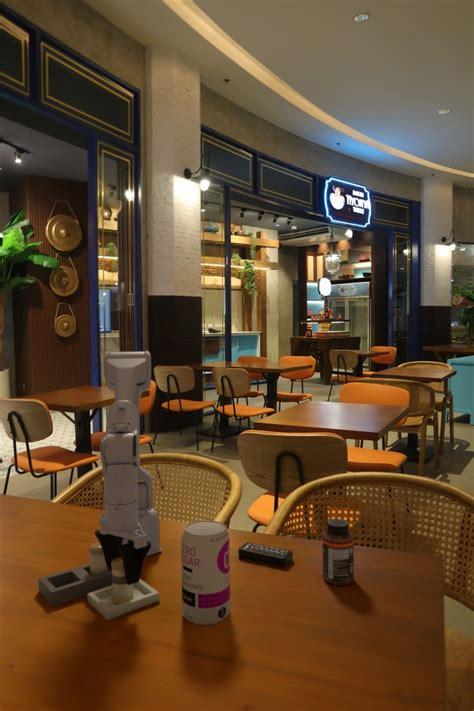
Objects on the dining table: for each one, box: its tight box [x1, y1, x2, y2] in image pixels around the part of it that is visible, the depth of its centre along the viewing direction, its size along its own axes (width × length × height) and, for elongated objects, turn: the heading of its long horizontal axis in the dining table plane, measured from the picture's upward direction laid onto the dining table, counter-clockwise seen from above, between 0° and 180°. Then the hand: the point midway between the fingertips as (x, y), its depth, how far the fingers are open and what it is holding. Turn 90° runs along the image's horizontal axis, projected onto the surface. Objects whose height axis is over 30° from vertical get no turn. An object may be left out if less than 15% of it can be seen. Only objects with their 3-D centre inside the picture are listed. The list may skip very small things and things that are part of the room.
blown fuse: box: [111, 557, 134, 605], centre depth 95 cm, size 4×4×7 cm
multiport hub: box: [238, 541, 294, 569], centre depth 113 cm, size 4×11×2 cm, turn 62°
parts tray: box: [87, 578, 160, 621], centre depth 96 cm, size 10×8×2 cm
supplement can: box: [180, 519, 231, 626], centre depth 91 cm, size 8×8×15 cm
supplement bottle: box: [321, 518, 355, 586], centre depth 103 cm, size 6×6×11 cm
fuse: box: [88, 541, 109, 576], centre depth 103 cm, size 4×4×7 cm
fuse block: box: [38, 562, 112, 607], centre depth 101 cm, size 14×7×2 cm, turn 129°
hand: (122, 575), depth 96 cm, fingers open, 7 cm apart
